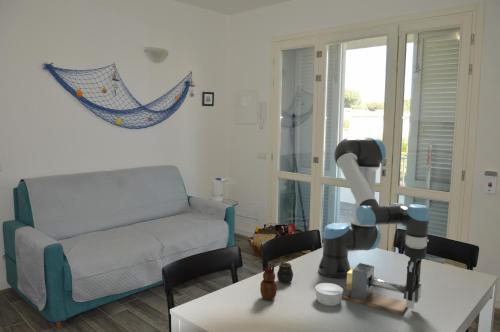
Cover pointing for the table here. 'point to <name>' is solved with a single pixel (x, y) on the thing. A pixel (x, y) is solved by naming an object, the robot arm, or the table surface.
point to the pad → (347, 292)
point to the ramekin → (328, 294)
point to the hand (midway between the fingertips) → (411, 304)
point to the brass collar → (349, 279)
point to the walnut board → (382, 303)
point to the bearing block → (362, 282)
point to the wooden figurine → (268, 284)
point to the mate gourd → (285, 272)
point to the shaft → (395, 287)
